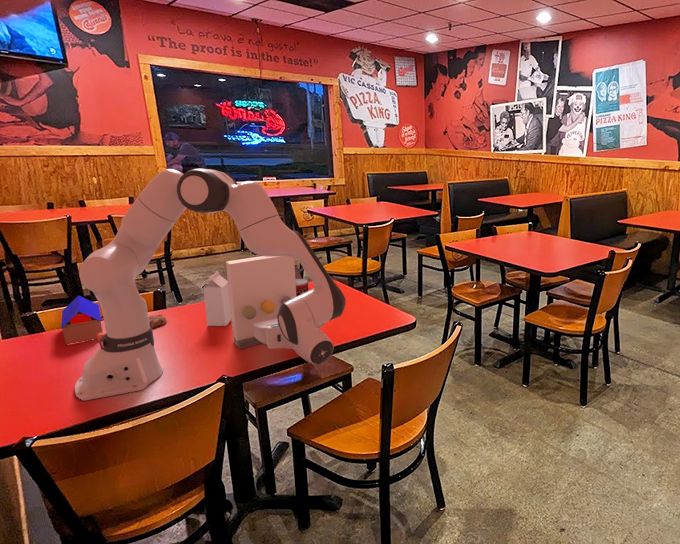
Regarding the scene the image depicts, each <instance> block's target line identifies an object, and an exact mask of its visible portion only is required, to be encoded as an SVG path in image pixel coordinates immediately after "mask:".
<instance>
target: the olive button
mask: <svg viewBox="0 0 680 544" xmlns="http://www.w3.org/2000/svg"><path fill="white" fill-rule="evenodd" d="M242 314H243V316H244V317H245V318H246V319H253V318H254V317H255V316H256V310H255V309H254V308H253V307H252V306H246V307H245V308H244V309H243V311H242Z"/></svg>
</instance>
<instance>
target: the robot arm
mask: <svg viewBox="0 0 680 544" xmlns="http://www.w3.org/2000/svg"><path fill="white" fill-rule="evenodd" d="M187 209H188V210H190V211H191V212H194V213H197V214H199V213H200V214H217V213H220V212H222V213H223V212H226V213H227V214H228V215H229V216H230V217H231V218H232V220H233V221H234V225H235V226H236V228H237V231H238V233H239V235H240V238H241V239H242V241H243V243H244V245H245V246H246V247H247V249H248V250H249V251H250V252H252V253H253V254H255V255H258V256H268V257H272V256H289V257H293V258H294V260H296V261H298V262H299V263H300V265H301V266H302V268H304V271H305V272H306V274H307V275H308V277H309V278H310V280H311V281H312V283H313V285H314V286H313V288H312V289H308V291H307V292H305V293H303V294H301V295H299V296H296V297H294V298H292V299H290V300H288V301H286V302H284V303H282V304H281V306H280V308H279V312H278V315H275V316H273V319H272V320H267V321H263V322H258V323H254V324H253V335H254V336H255V338H256V339H258V340H259V341H260V342H262V343H261V344H265V345H266V346H267V348H268V349H269V350H274V349H275V350H277V349H288V350H293V351H294V352H295V353H296V354H297V356H299V357H301V358H302V359H303V360H304V361H305V362H308V363H310V364H312V365H321V364H322V363H323V364H324V363H325V362H326V361H327V360H329V358H331V356H332V355H333V352H334V348H335V347H334V344H333V341H332V340H331V338H329V337H328V335H327V334H326V333H325V332H324V331H322V330H321V329H320V328H323V327H324V326H325V325H326V323H327V322H330V321H333V320H335V319H337V318H339V317H341V316H342V315H343V313H344V312H345V311H344V310H345V308H346V302H347V301H346V296H345V294H344V293H343V291H342V290H341V289H340V287H339V286H338V284H337V283H336V282H335V281H334V280H333V279H332V277H331V275H330V274H329V273H328V271H327V269H326V268H325V267H324V265H323V263H322V262H321V261H320V260H321V259H318V258H319V257H318V256H317V254H316V253H315V251H314V250H313V248H312V247H311V245H310V244H309V242H308V241H307V240H306V238H305V237H304V236H303V235H302V234H301V233H300V232H299V231H297V230H292V229H291V228H289V227H288V226H287V225H286V224H285V223H284V222H283V220H282V219H281V217H280V215H279V213H278V211H277V208H276V207H275V205H274V202H273V201H272V199H271V198H270V195H269V194H268V192H267V191H266V190H265V189H264V187H263V186H262V184H260V183H259V182H258V181H255V180H254V181H252V180H245V181H242V182H239V183H238V181H236V180H235V178H234V177H233V176H232V175H230V174H228V173H227V172H223V171H219V170H217V169H211V168H210V169H208V168H207V169H206V168H202V167H201V168H194V169H190V170H187V171H186V172H185V173H183V172H181V171H179V170H176V169H174V168H166V169H165V168H164V169H162V170H161V171H160V172H159V173H157V174H156V175H155V176H154V177H153V178H152V179H151V180H149V182H148V183H147V184H146V186H144V188H143V189H142V190H141V192H140V193H139V194H138V196H137V198H136V199H135V201H133V203H132V204H131V206H130V207H129V209H127V212H126V213H125V214H124V215H123V217H122V218H121V223H120V226H119V228H118V231H117V233H116V234H115V236H114V238H113V239H112V240H111V241H110V242H109V243H107V245H105V246H103V247H101V248H99V249H96V250H95V251H93V252H91V253H90V254H89V255H88V256H87V257H86V258H85V259H84V261H83V262H82V263H81V265H80V267H79V271H78V275H79V279H80V281H81V283H82V285H83V286H84V287H85V288H86V289H87V290H88V291H91V292H92V293H93V294H94V296H95V298H96V300H97V302H98V305H99V308H101V309H100V310H101V312H102V317H103V321H104V322H103V323H104V327H105V333H104V332H103V333H99V334H98V335H97V342H99V346H100V348H99V349H98V350H97V351H96V352H95V353H94V354H93V355H92V356H91V357H90V358H88V359H87V360H86V361H85V363H84V365H83V368H82V373H81V377H79V378H78V379H77V381H76V383H75V385H74V394H75V397H76V398H77V397H78V398H79V400H80V399H81V401H90V400H95V399H100V398H106V397H112V396H116V395H122V394H127V393H128V392H129V393H133V392H140V391H142V390H144V389H145V388H147V387H148V386H149V384H151V383H153V382H154V381H156V380H157V379H158V378H160V377H161V375H162V374H163V371H164V369H163V367H162V365H161V363H160V360H159V358H158V356H157V353H156V349H155V337H154V336H155V335H154V331H153V328H151V326H150V324H149V318H148V317H149V313H148V306H147V302H146V299H145V298H143V297H142V296H141V295H140V291H139V290H138V288H137V284H136V277H137V276H139V275H141V274H142V273H143V272H144V270H145V269H146V267H147V265H149V264H150V262H151V260H152V259H153V257H154V255H155V253H156V252H157V250H158V248H159V246H160V244H161V243H162V242H163V240H164V239H165V238H166V236H167V235H168V233H169V232H170V231H171V229H172V228H173V227H174V225H175V224H176V223H177V221H178V220H179V219H180V218H181V216H182V215H183V213H184V212H185V211H186V210H187ZM129 393H128V394H129ZM78 398H77V399H78Z"/></svg>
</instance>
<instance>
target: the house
mask: <svg viewBox="0 0 680 544" xmlns="http://www.w3.org/2000/svg"><path fill="white" fill-rule="evenodd" d="M100 310H101V309H100V304H99V303H98V304H97V303H96V302H94V301H92V300H89V299H87V298H86V297H82V296H81V295H77V296H76V297H75V298H74V299H73V300H72V301H71V302H70V303H69V304H68V305H67V306H66V307H65V308H64V309H63V310H62V313H61V324H60V329H62V333H63V338H64V342H65V345H66V344H70V343H76V342H82V341H87V340H92V339H97V335H98V334H99V333H103V334H104V332H103V327H102V326H103V325H102V317H101V311H100ZM92 341H93V340H92ZM87 342H88V341H87Z"/></svg>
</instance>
